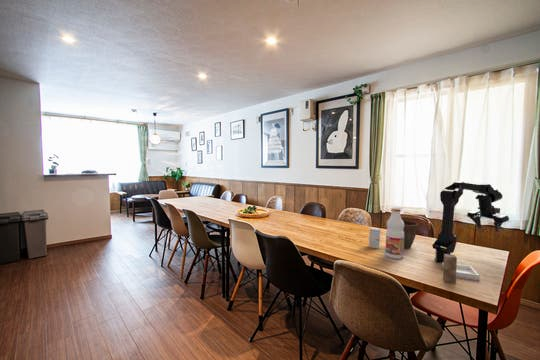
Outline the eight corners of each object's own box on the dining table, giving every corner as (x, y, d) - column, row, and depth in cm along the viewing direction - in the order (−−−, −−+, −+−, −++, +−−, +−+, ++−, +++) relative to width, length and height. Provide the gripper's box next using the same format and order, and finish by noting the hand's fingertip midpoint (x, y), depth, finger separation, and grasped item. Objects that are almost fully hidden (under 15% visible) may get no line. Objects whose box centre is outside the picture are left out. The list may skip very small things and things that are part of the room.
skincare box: (368, 247, 163) (369, 228, 162) (369, 245, 167) (370, 227, 166) (379, 248, 160) (379, 230, 159) (379, 246, 164) (380, 228, 163)
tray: (447, 275, 120) (448, 270, 120) (442, 266, 131) (442, 262, 131) (479, 280, 115) (479, 275, 115) (470, 270, 126) (470, 265, 126)
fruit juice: (407, 259, 142) (408, 210, 140) (391, 259, 141) (392, 210, 140) (397, 253, 151) (398, 207, 150) (382, 253, 150) (383, 207, 149)
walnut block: (444, 282, 113) (446, 256, 112) (442, 279, 117) (443, 253, 116) (455, 284, 111) (456, 257, 111) (453, 280, 115) (454, 255, 114)
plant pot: (415, 252, 154) (416, 226, 153) (389, 247, 163) (390, 222, 162) (418, 246, 166) (419, 222, 165) (394, 241, 175) (394, 219, 174)
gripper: (514, 203, 138) (517, 229, 140) (477, 198, 156) (481, 222, 158) (500, 208, 136) (503, 235, 137) (464, 203, 153) (468, 227, 155)
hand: (488, 230), depth 147 cm, fingers open, 9 cm apart
